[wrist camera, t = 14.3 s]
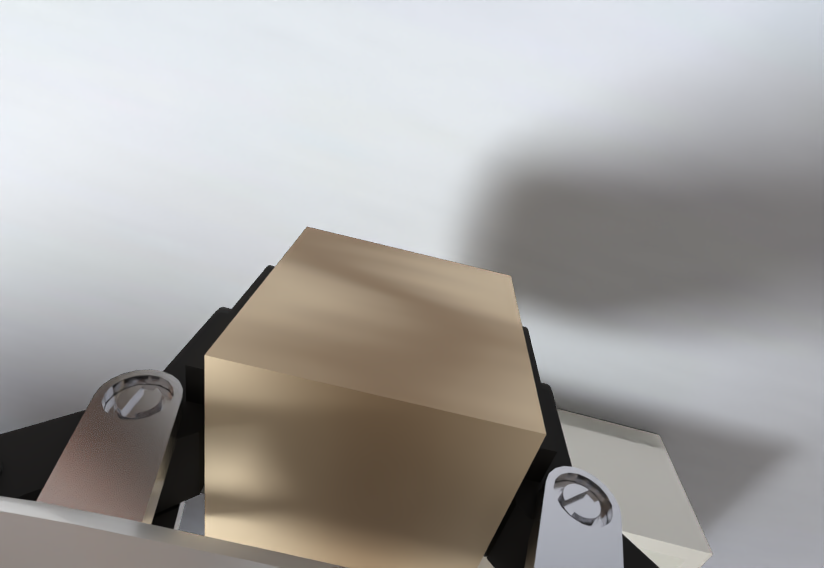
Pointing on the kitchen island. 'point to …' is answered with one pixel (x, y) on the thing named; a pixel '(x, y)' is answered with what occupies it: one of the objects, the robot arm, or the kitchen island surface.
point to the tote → (638, 489)
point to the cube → (369, 409)
